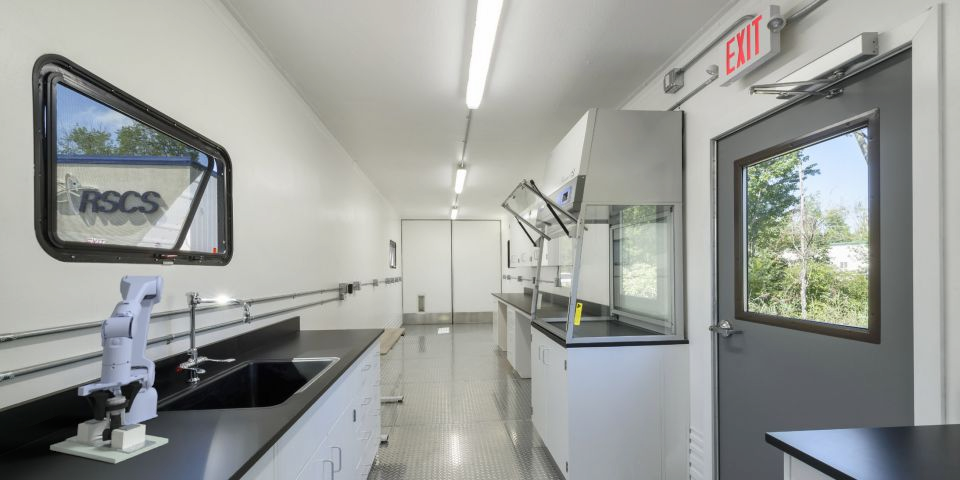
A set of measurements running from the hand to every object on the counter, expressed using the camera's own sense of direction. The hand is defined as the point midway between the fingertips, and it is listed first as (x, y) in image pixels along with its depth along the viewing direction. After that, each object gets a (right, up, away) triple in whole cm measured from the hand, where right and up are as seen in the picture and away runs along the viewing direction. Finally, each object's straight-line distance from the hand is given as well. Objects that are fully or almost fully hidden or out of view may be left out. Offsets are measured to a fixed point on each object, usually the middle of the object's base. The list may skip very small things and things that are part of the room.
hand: (112, 416), depth 103 cm
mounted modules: (0, -6, 0) cm, 6 cm away
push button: (+1, -6, -1) cm, 6 cm away
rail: (0, -8, -1) cm, 8 cm away
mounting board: (0, -8, -1) cm, 8 cm away
